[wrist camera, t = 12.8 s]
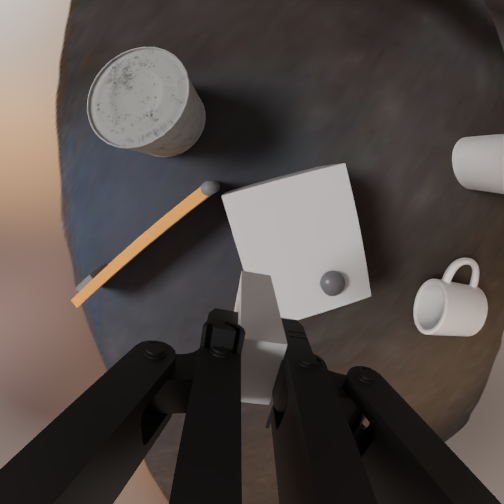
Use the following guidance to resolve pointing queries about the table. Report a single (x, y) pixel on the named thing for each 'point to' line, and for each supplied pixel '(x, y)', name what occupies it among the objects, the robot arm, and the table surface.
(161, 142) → the grey mottled cylinder
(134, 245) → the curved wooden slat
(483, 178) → the cup
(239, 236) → the knobbed white cabinet
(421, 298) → the mug
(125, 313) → the table surface
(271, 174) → the table surface
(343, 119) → the table surface
